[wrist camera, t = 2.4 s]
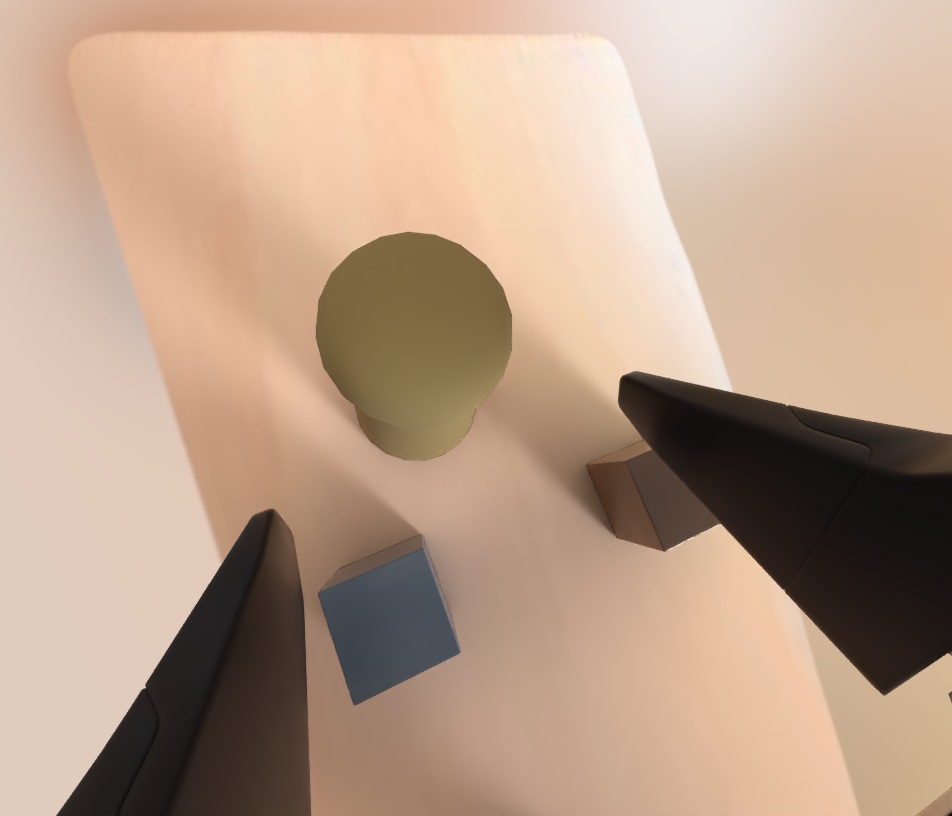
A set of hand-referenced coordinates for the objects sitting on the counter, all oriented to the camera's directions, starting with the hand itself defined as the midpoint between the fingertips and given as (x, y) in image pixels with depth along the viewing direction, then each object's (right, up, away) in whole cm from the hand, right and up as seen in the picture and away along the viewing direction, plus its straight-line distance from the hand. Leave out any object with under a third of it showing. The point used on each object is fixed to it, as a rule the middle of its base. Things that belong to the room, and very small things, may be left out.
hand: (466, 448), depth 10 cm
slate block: (-3, -7, +8) cm, 12 cm away
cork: (-3, +1, +10) cm, 11 cm away
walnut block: (+9, -3, +11) cm, 14 cm away
